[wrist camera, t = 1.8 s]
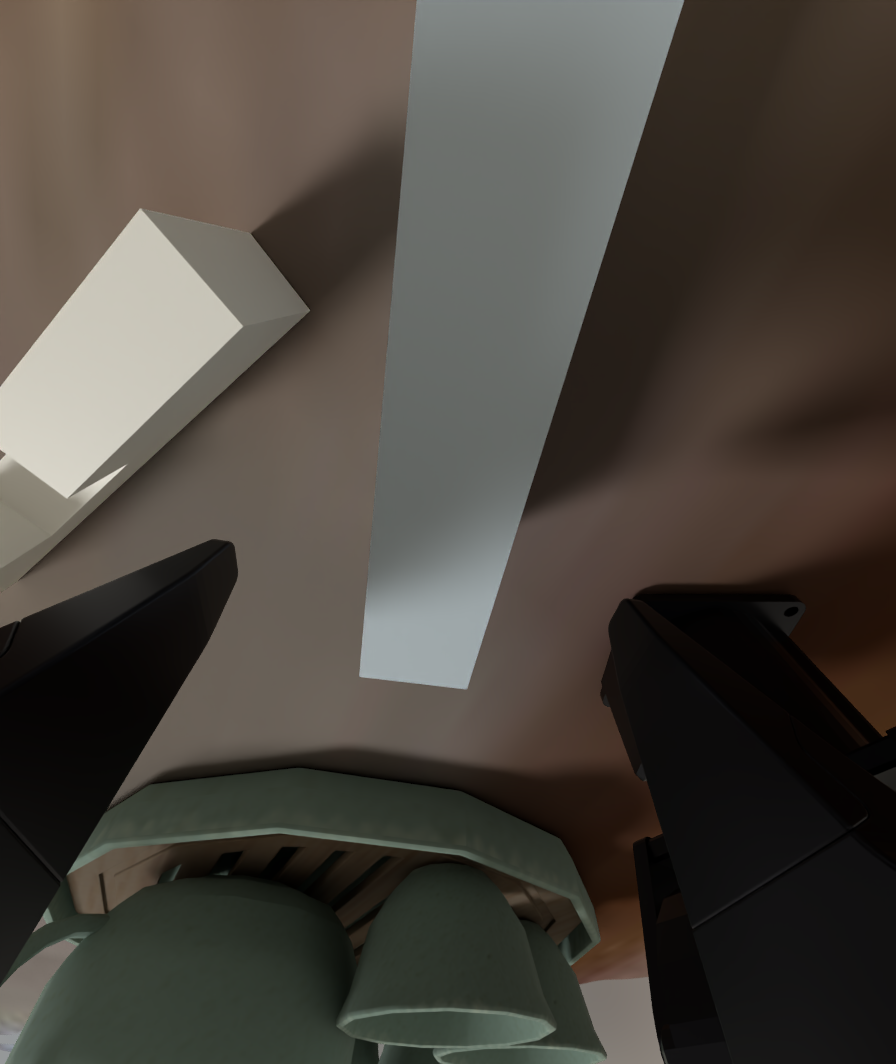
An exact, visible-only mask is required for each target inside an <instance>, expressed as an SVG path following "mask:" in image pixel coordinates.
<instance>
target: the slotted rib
mask: <svg viewBox="0 0 896 1064" xmlns="http://www.w3.org/2000/svg"><path fill="white" fill-rule="evenodd" d="M309 312H310V310H309V308H308V307H307V306H306V304H305V303H304V302H303V300H302V299H301V298H300V297H299V295H298V294H297V293H296V291H295V290H294V289H293V288H292V286H291V285H290V284H289V282H288V281H287V280H286V279H285V277H284V276H283V275H282V273H281V272H280V271H279V270H278V268H277V267H276V266H275V264H274V263H273V262H272V261H271V259H270V258H269V257H268V255H267V254H266V253H265V252H264V250H263V249H262V248H261V246H260V245H259V244H258V243H257V241H256V240H255V239H254V237H253V236H252V235H251V234H250V233H249V232H244V231H240V230H235V229H231V228H226V227H222V226H217V225H213V224H208V223H204V222H199V221H195V220H191V219H186V218H182V217H177V216H173V215H168V214H164V213H159V212H155V211H150V210H146V209H141V208H140V210H139V211H138V212H137V213H136V215H135V216H134V217H133V218H132V220H131V221H130V222H129V224H128V225H127V226H126V227H125V229H124V230H123V231H122V233H121V234H120V235H119V236H118V238H117V239H116V240H115V241H114V243H113V244H112V245H111V247H110V248H109V249H108V250H107V252H106V253H105V254H104V255H103V257H102V258H101V259H100V261H99V262H98V263H97V264H96V266H95V267H94V268H93V269H92V271H91V272H90V273H89V275H88V276H87V277H86V278H85V280H84V281H83V282H82V283H81V285H80V286H79V287H78V289H77V290H76V291H75V292H74V294H73V295H72V296H71V297H70V299H69V300H68V301H67V303H66V304H65V305H64V306H63V308H62V309H61V310H60V312H59V313H58V314H57V315H56V317H55V318H54V319H53V320H52V322H51V323H50V324H49V326H48V327H47V328H46V329H45V331H44V332H43V333H42V334H41V336H40V337H39V338H38V340H37V341H36V342H35V343H34V345H33V346H32V347H31V348H30V350H29V351H28V352H27V354H26V355H25V356H24V357H23V359H22V360H21V361H20V362H19V364H18V365H17V366H16V368H15V369H14V370H13V371H12V373H11V374H10V375H9V376H8V378H7V379H6V380H5V382H4V383H3V384H2V385H1V387H0V450H1V451H3V452H4V453H6V455H5V456H4V457H3V458H2V459H1V461H0V593H2V592H3V591H4V590H6V589H7V588H9V587H10V586H12V585H13V584H14V583H16V582H17V581H18V580H19V579H20V578H21V577H22V576H24V575H25V574H26V573H27V572H28V571H29V570H30V569H31V568H32V567H33V566H34V565H35V564H37V563H38V562H39V561H40V560H41V559H42V558H43V557H44V556H45V555H46V554H47V553H48V552H50V551H51V550H52V549H53V548H54V547H55V546H56V545H57V544H58V543H59V542H60V541H61V540H63V539H64V538H65V537H66V536H67V535H68V534H69V533H70V532H71V531H72V530H73V529H74V528H76V527H77V526H78V525H79V524H80V523H81V522H82V521H83V520H84V519H85V518H86V517H87V516H89V515H90V514H91V513H92V512H93V511H94V510H95V509H96V508H97V507H98V506H99V505H100V504H102V503H103V502H104V501H105V500H106V499H107V498H108V497H109V496H110V495H111V494H112V493H113V492H115V491H116V490H117V489H118V488H119V487H120V486H121V485H122V484H123V483H124V482H125V481H126V480H128V479H129V478H130V477H131V476H132V475H133V474H134V473H135V472H136V471H137V470H138V469H139V468H141V467H142V466H143V465H144V464H145V463H146V462H147V461H148V460H149V459H150V458H151V457H152V456H154V455H155V454H156V453H157V452H158V451H159V450H160V449H161V448H162V447H163V446H164V445H165V444H167V443H168V442H169V441H170V440H171V439H172V438H173V437H174V436H175V435H176V434H177V433H178V432H180V431H181V430H182V429H183V428H184V427H185V426H186V425H187V424H188V423H189V422H190V421H191V420H193V419H194V418H195V417H196V416H197V415H198V414H199V413H200V412H201V411H202V410H203V409H204V408H206V407H207V406H208V405H209V404H210V403H211V402H212V401H213V400H214V399H215V398H216V397H217V396H219V395H220V394H221V393H222V392H223V391H224V390H225V389H226V388H227V387H228V386H229V385H230V384H232V383H233V382H234V381H235V380H236V379H237V378H238V377H239V376H240V375H241V374H242V373H243V372H245V371H246V370H247V369H248V368H249V367H250V366H251V365H252V364H253V363H254V362H255V361H256V360H258V359H259V358H260V357H261V356H262V355H263V354H264V353H265V352H266V351H267V350H268V349H269V348H271V347H272V346H273V345H274V344H275V343H276V342H277V341H278V340H279V339H280V338H281V337H282V336H284V335H285V334H286V333H287V332H288V331H289V330H290V329H291V328H292V327H293V326H294V325H295V324H297V323H298V322H299V321H300V320H301V319H302V318H303V317H304V316H305V315H306V314H307V313H309Z"/></svg>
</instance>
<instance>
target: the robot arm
mask: <svg viewBox="0 0 896 1064" xmlns="http://www.w3.org/2000/svg"><path fill="white" fill-rule="evenodd" d="M237 577H238V568H237V560H236V553H235V547H234V545H233V543H232V542H230V541H223V540H217V539H212V540H209V541H207V542H204V543H202V544H199V545H197V546H195V547H192V548H190V549H187V550H185V551H183V552H180V553H178V554H176V555H173V556H171V557H168V558H166V559H164V560H161V561H159V562H156V563H154V564H152V565H149V566H147V567H144V568H142V569H140V570H137V571H135V572H133V573H130V574H128V575H125V576H123V577H121V578H118V579H116V580H113V581H111V582H109V583H106V584H104V585H101V586H99V587H97V588H94V589H92V590H89V591H87V592H85V593H82V594H80V595H78V596H75V597H73V598H70V599H68V600H66V601H63V602H61V603H58V604H56V605H54V606H51V607H49V608H46V609H44V610H42V611H39V612H37V613H35V614H32V615H30V616H27V617H25V618H23V619H22V620H21V622H19V621H15V622H13V623H10V624H8V625H6V626H3V627H1V628H0V985H1V983H2V982H3V980H4V978H5V977H6V975H7V973H8V972H9V970H10V968H11V967H12V965H13V964H14V962H15V960H16V959H17V957H18V955H19V954H20V952H21V950H22V949H23V947H24V945H25V944H26V942H27V940H28V939H29V937H30V936H31V934H32V932H33V931H34V929H35V927H36V926H37V924H38V922H39V921H40V919H41V917H42V916H43V914H44V912H45V911H46V909H47V908H48V906H49V904H50V903H51V901H52V899H53V898H54V896H55V894H56V893H57V891H58V889H59V888H60V886H61V884H60V882H62V881H63V880H64V879H65V877H66V876H67V874H68V872H69V871H70V869H71V867H72V866H73V864H74V862H75V861H76V859H77V857H78V856H79V854H80V853H81V851H82V849H83V848H84V846H85V844H86V843H87V841H88V839H89V838H90V836H91V834H92V833H93V831H94V829H95V828H96V826H97V825H98V823H99V821H100V820H101V818H102V816H103V815H104V813H105V811H106V810H107V808H108V806H109V805H110V803H111V801H112V800H113V798H114V797H115V795H116V793H117V792H118V790H119V788H120V787H121V785H122V783H123V782H124V780H125V778H126V777H127V775H128V773H129V772H130V770H131V769H132V767H133V765H134V764H135V762H136V760H137V759H138V757H139V755H140V754H141V752H142V750H143V749H144V747H145V745H146V744H147V742H148V741H149V739H150V737H151V736H152V734H153V732H154V731H155V729H156V727H157V726H158V724H159V722H160V721H161V719H162V717H163V716H164V714H165V713H166V711H167V709H168V708H169V706H170V704H171V703H172V701H173V699H174V698H175V696H176V694H177V693H178V691H179V689H180V688H181V686H182V685H183V683H184V681H185V680H186V678H187V676H188V675H189V673H190V671H191V670H192V668H193V666H194V665H195V663H196V661H197V660H198V658H199V656H200V655H201V653H202V652H203V650H204V648H205V646H206V645H207V643H208V641H209V639H210V637H211V635H212V633H213V631H214V629H215V627H216V625H217V622H218V620H219V618H220V616H221V614H222V612H223V609H224V607H225V605H226V603H227V601H228V598H229V596H230V594H231V592H232V590H233V587H234V585H235V583H236V581H237ZM805 609H806V607H805V604H804V603H802V602H801V601H800V600H799V599H798V598H797V597H796V596H794V595H716V594H644V595H639V596H636V597H634V598H633V599H623V600H622V601H621V602H620V604H619V606H618V608H617V610H616V611H615V613H614V615H613V617H612V619H611V621H610V623H609V628H608V632H609V638H610V643H611V652H610V655H609V659H608V662H607V665H606V668H605V671H604V674H603V678H602V681H601V683H602V689H601V692H600V696H601V699H602V701H603V704H604V705H605V706H607V707H610V708H611V711H612V713H613V716H614V719H615V721H616V724H617V727H618V729H619V732H620V735H621V738H622V740H623V743H624V746H625V748H626V751H627V754H628V756H629V759H630V762H631V765H632V767H633V770H634V773H635V774H636V775H637V776H638V777H639V778H640V779H641V780H642V781H647V783H648V786H649V789H650V793H651V796H652V799H653V802H654V806H655V809H656V812H657V816H658V819H659V822H660V825H661V829H662V832H663V834H661V835H658V836H656V837H654V838H650V837H645V838H643V839H640V840H638V841H636V842H634V843H633V851H634V859H635V867H636V876H637V884H638V892H639V901H640V909H641V918H642V926H643V934H644V943H645V951H646V959H647V968H648V976H649V984H650V992H651V1001H652V1009H653V1015H654V1021H655V1027H656V1032H657V1038H658V1042H659V1046H660V1051H661V1056H662V1058H663V1061H664V1064H896V726H895V727H893V728H891V729H889V730H886V733H887V734H888V735H887V736H885V737H882V736H881V735H880V734H879V732H878V731H877V730H876V729H875V728H874V727H873V726H872V725H871V724H870V723H869V722H868V721H867V720H866V719H865V718H864V717H863V715H862V714H861V713H860V712H859V711H858V710H857V709H856V708H855V707H854V706H853V705H852V704H851V703H850V702H849V701H848V699H847V698H846V697H845V696H844V695H843V694H842V693H841V692H840V691H839V690H838V689H837V688H836V687H835V686H834V685H833V684H832V682H831V681H830V680H829V679H828V678H827V677H826V676H825V675H824V674H823V673H822V672H821V671H820V670H819V669H818V668H817V667H816V665H815V664H814V663H813V662H812V661H811V660H810V659H809V658H808V657H807V656H806V655H805V654H804V653H803V652H802V651H801V649H800V648H799V647H798V646H797V645H796V644H795V643H794V642H793V641H792V640H791V639H790V638H789V635H790V633H791V632H792V630H793V629H794V627H795V626H796V624H797V623H798V621H799V619H800V618H801V616H802V615H803V613H804V612H805Z"/></svg>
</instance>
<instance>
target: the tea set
mask: <svg viewBox="0 0 896 1064" xmlns="http://www.w3.org/2000/svg"><path fill="white" fill-rule="evenodd" d="M60 884H61V886H60V888H59V889H58V891H57V893H56V894H55V896H54V898H53V899H52V901H51V903H50V904H49V906H48V908H47V909H46V911H45V912H44V914H43V917H44V919H45V922H46V925H44V926H43V927H41V928H40V929H38V930H37V931H35V932H33V933H32V934H31V936H30V937H29V939H28V940H27V942H26V944H25V945H24V947H23V949H22V950H21V952H20V954H19V955H18V957H17V959H16V960H15V962H14V964H13V965H12V967H11V968H10V970H9V972H8V973H7V975H6V977H5V978H4V980H3V982H2V983H1V985H0V987H1V986H2V984H3V983H4V982H5V981H6V980H7V979H8V978H9V977H10V976H11V975H12V974H13V973H14V972H15V971H16V969H17V968H19V967H20V966H21V965H23V964H24V963H25V962H27V961H28V960H29V959H31V958H32V957H33V956H35V955H36V954H38V953H39V952H40V951H42V950H43V949H44V948H46V947H49V946H51V945H53V944H56V943H58V942H60V941H63V940H66V941H68V942H70V943H72V944H74V945H76V946H77V947H76V948H75V949H74V950H73V952H72V953H71V954H70V955H69V956H68V957H67V958H66V960H65V961H64V962H63V963H62V965H61V966H60V967H59V969H58V970H57V971H56V972H55V974H54V975H53V976H52V977H51V979H50V980H49V981H48V983H47V984H46V985H45V987H44V989H43V991H42V993H41V995H40V997H39V999H38V1001H37V1003H36V1005H35V1007H34V1009H33V1010H32V1012H31V1014H30V1016H29V1018H28V1020H27V1022H26V1024H25V1026H24V1028H23V1030H22V1032H21V1034H20V1036H19V1038H18V1040H17V1041H16V1043H15V1045H14V1047H13V1049H12V1051H11V1053H10V1055H9V1057H8V1059H7V1061H6V1063H5V1064H596V1063H599V1062H601V1061H604V1060H605V1059H606V1058H607V1054H606V1052H605V1050H604V1048H603V1046H602V1044H601V1042H600V1040H599V1038H598V1036H597V1034H596V1032H595V1030H594V1027H593V1025H592V1021H591V1018H590V1015H589V1013H588V1010H587V1007H586V1004H585V1001H584V998H583V995H582V992H581V989H580V986H579V983H578V980H577V977H576V974H575V973H574V971H573V970H572V968H571V967H570V966H571V965H572V964H574V963H575V962H576V961H577V960H578V959H580V958H581V957H582V956H583V955H584V954H586V953H587V952H588V951H589V950H590V949H592V948H593V947H594V946H595V945H596V944H598V943H599V942H600V933H599V929H598V925H597V920H596V916H595V911H594V907H593V905H592V903H591V900H590V898H589V896H588V894H587V891H586V889H585V887H584V885H583V883H582V880H581V878H580V876H579V874H578V871H577V869H576V867H575V865H574V862H573V860H572V858H571V856H570V855H569V853H568V851H567V850H566V848H565V846H564V844H563V843H562V841H561V839H559V838H557V837H555V836H553V835H551V834H549V833H547V832H545V831H543V830H541V829H539V828H537V827H534V826H532V825H530V824H528V823H526V822H524V821H522V820H520V819H518V818H516V817H514V816H512V815H509V814H507V813H505V812H503V811H501V810H499V809H497V808H495V807H493V806H491V805H489V804H487V803H484V802H482V801H480V800H478V799H476V798H474V797H472V796H470V795H468V794H466V793H464V792H462V791H457V790H450V789H443V788H436V787H429V786H422V785H416V784H409V783H402V782H395V781H388V780H381V779H374V778H367V777H360V776H353V775H347V774H340V773H333V772H326V771H319V770H312V769H305V768H291V769H283V770H274V771H265V772H256V773H247V774H238V775H230V776H221V777H212V778H203V779H194V780H186V781H177V782H168V783H159V784H150V785H148V786H147V787H145V788H144V789H142V790H140V791H139V792H137V793H136V794H134V795H132V796H131V797H129V798H128V799H126V800H125V801H123V802H121V803H120V804H118V805H117V806H115V807H113V808H112V809H110V810H109V811H107V812H106V813H104V815H103V816H102V818H101V820H100V821H99V823H98V825H97V826H96V828H95V829H94V831H93V833H92V834H91V836H90V838H89V839H88V841H87V843H86V844H85V846H84V848H83V849H82V851H81V853H80V854H79V856H78V857H77V859H76V861H75V862H74V864H73V866H72V867H71V869H70V871H69V872H68V874H67V876H66V877H65V879H64V880H63V881H62V882H60ZM378 1043H380V1044H385V1045H384V1049H383V1052H382V1055H381V1057H380V1060H379V1057H378Z"/></svg>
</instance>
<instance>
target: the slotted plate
mask: <svg viewBox="0 0 896 1064" xmlns="http://www.w3.org/2000/svg"><path fill="white" fill-rule="evenodd" d="M683 3H684V0H417V5H416V17H415V29H414V40H413V52H412V64H411V76H410V87H409V99H408V111H407V122H406V134H405V146H404V158H403V169H402V181H401V193H400V205H399V216H398V228H397V240H396V252H395V263H394V275H393V287H392V299H391V310H390V322H389V334H388V346H387V357H386V369H385V381H384V393H383V404H382V416H381V428H380V440H379V451H378V463H377V475H376V487H375V498H374V510H373V522H372V533H371V545H370V557H369V569H368V580H367V592H366V604H365V616H364V627H363V639H362V651H361V663H360V674H359V677H365V678H374V679H383V680H391V681H400V682H408V683H417V684H425V685H434V686H442V687H451V688H459V689H467V687H468V684H469V681H470V678H471V674H472V671H473V668H474V665H475V662H476V659H477V655H478V652H479V649H480V646H481V643H482V640H483V636H484V633H485V630H486V627H487V624H488V621H489V617H490V614H491V611H492V608H493V605H494V602H495V598H496V595H497V592H498V589H499V586H500V583H501V579H502V576H503V573H504V570H505V567H506V564H507V560H508V557H509V554H510V551H511V548H512V545H513V541H514V538H515V535H516V532H517V529H518V526H519V522H520V519H521V516H522V513H523V510H524V507H525V503H526V500H527V497H528V494H529V491H530V488H531V484H532V481H533V478H534V475H535V472H536V469H537V465H538V462H539V459H540V456H541V453H542V449H543V446H544V443H545V440H546V437H547V434H548V430H549V427H550V424H551V421H552V418H553V415H554V411H555V408H556V405H557V402H558V399H559V396H560V392H561V389H562V386H563V383H564V380H565V377H566V373H567V370H568V367H569V364H570V361H571V358H572V354H573V351H574V348H575V345H576V342H577V339H578V335H579V332H580V329H581V326H582V323H583V320H584V316H585V313H586V310H587V307H588V304H589V301H590V297H591V294H592V291H593V288H594V285H595V282H596V278H597V275H598V272H599V269H600V266H601V263H602V259H603V256H604V253H605V250H606V247H607V244H608V240H609V237H610V234H611V231H612V228H613V225H614V221H615V218H616V215H617V212H618V209H619V205H620V202H621V199H622V196H623V193H624V190H625V186H626V183H627V180H628V177H629V174H630V171H631V167H632V164H633V161H634V158H635V155H636V152H637V148H638V145H639V142H640V139H641V136H642V133H643V129H644V126H645V123H646V120H647V117H648V114H649V110H650V107H651V104H652V101H653V98H654V95H655V91H656V88H657V85H658V82H659V79H660V76H661V72H662V69H663V66H664V63H665V60H666V57H667V53H668V50H669V47H670V44H671V41H672V38H673V34H674V31H675V28H676V25H677V22H678V19H679V15H680V12H681V9H682V6H683Z"/></svg>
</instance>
